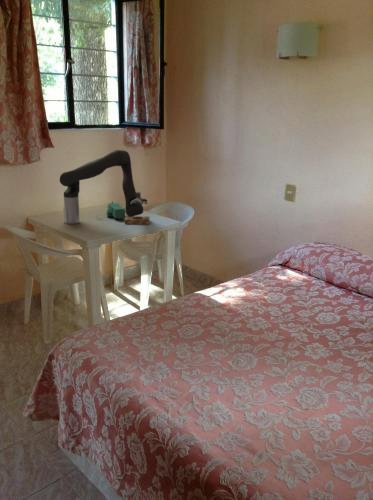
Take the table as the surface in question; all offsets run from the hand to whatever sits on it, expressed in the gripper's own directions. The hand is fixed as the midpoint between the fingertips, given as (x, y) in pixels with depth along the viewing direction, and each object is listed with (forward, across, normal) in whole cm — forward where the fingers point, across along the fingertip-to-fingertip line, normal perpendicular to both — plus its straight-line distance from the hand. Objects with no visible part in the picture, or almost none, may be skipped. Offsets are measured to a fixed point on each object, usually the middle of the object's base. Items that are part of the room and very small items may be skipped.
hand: (137, 199), depth 287 cm
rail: (-3, 0, +15) cm, 16 cm away
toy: (+15, +17, +16) cm, 27 cm away
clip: (-3, 0, +7) cm, 8 cm away
